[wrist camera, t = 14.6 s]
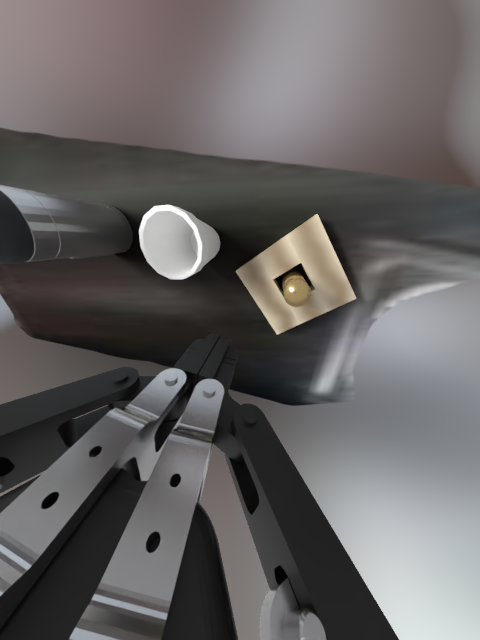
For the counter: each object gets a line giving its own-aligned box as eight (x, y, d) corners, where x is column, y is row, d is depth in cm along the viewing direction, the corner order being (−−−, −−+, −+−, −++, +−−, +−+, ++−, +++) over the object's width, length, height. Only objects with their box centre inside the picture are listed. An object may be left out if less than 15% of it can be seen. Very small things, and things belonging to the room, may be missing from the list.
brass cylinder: (287, 293, 36) (291, 311, 27) (278, 276, 35) (279, 290, 26) (305, 283, 34) (316, 299, 25) (296, 265, 33) (304, 276, 24)
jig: (277, 327, 40) (277, 334, 37) (239, 268, 35) (235, 271, 32) (349, 292, 33) (356, 298, 30) (313, 216, 29) (317, 213, 26)
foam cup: (185, 211, 33) (135, 198, 21) (230, 220, 32) (204, 211, 21) (184, 261, 37) (142, 272, 26) (224, 270, 36) (199, 286, 25)
